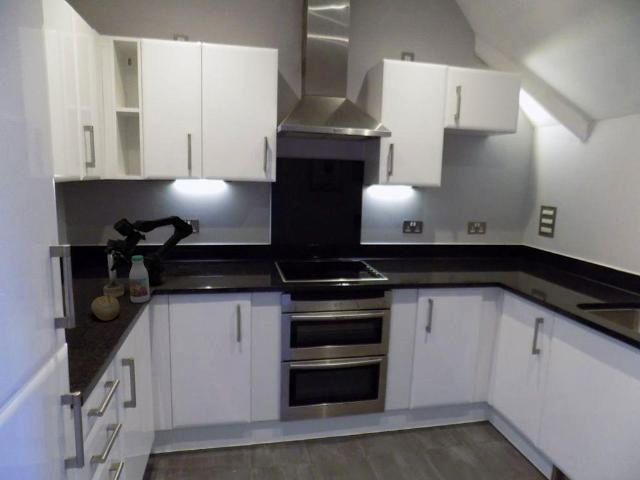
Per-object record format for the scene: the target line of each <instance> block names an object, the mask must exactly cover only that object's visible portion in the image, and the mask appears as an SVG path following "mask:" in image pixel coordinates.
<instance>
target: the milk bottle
mask: <svg viewBox="0 0 640 480" xmlns="http://www.w3.org/2000/svg"><path fill="white" fill-rule="evenodd" d="M143 259H144V256H143V255H135V256H133V257H132V262H133V263H132V262H131V263H132V266H131V269H130V272H129V277H128V278H129V280H128V281H129V293H130V295H129V296H130V301H131V303H133V304H139V303H145V302H148V301H149V300H150V299H151V293H150V285H149V279H148V273H149V272H147V270H146V268H145V266H144V264H143Z"/></svg>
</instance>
